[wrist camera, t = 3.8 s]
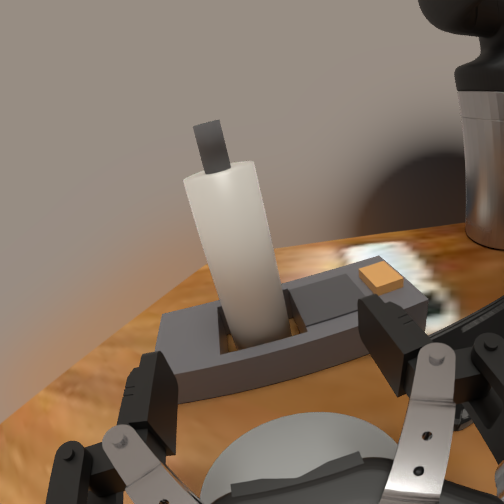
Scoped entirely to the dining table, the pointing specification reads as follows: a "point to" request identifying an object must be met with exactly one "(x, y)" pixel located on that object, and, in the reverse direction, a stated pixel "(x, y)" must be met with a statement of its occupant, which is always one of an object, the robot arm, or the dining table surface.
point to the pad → (293, 449)
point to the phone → (471, 341)
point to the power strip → (288, 349)
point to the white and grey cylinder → (237, 242)
